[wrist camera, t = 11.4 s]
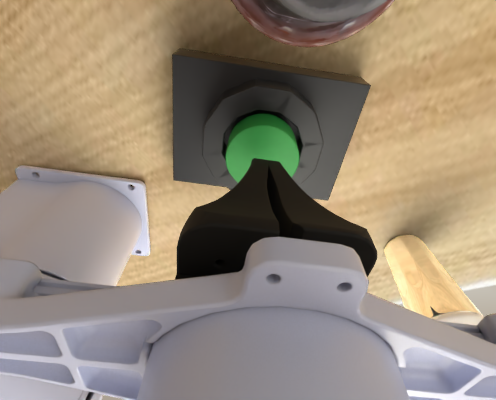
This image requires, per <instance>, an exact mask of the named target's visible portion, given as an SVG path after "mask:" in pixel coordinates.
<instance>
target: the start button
mask: <svg viewBox="0 0 496 400" xmlns="http://www.w3.org/2000/svg"><path fill="white" fill-rule="evenodd" d="M254 158H258V159H265V160H272V161H279V162H280V163H281V164H282V166H283V167H284V169H285V170H286V171H287V172H288V174H289V175H290V176H291V177H292V176H293V175H294V173H295V172H296V170H297V167H298V164H299V150H298V146H297V142H296V139H295V135H294V133H293V131H292V129H291V127H290V126H289V125H288V124H287V123H286V122H285V121H284V120H282V119H281V118H279V117H277V116H274V115H270V114H255V115H251V116H248V117H246V118H244V119H243V120H241V121H240V122H239V123H237V125H236V126H235V127H234V128H233V130H232V131H231V133H230V136H229V140H228V145H227V150H226V166H227V169H228V171H229V173H230V175H231V176H232V177H233V179H234V180H235V181H237V182H238V183H239V181H240V180H241V179H242V178H243V177H244V175H245V174H246V172H247V171H248V169H249V167H250V165H251V161H252V159H254Z"/></svg>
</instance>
